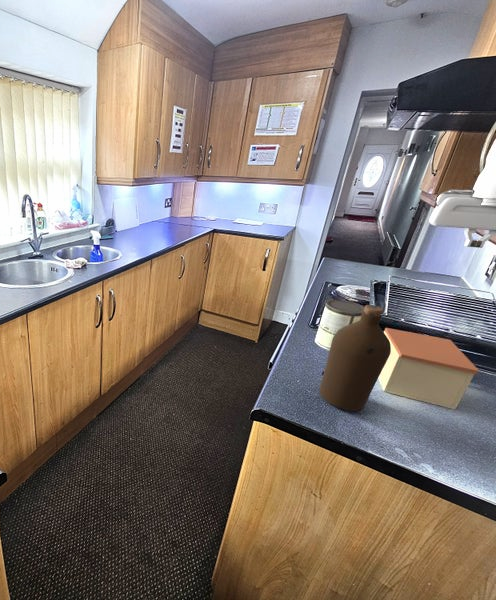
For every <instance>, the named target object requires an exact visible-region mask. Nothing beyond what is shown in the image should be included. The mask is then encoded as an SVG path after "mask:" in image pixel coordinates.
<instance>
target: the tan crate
mask: <svg viewBox="0 0 496 600" xmlns="http://www.w3.org/2000/svg"><path fill="white" fill-rule="evenodd" d="M383 332H384V334H385V335H386V336H387V338H388V339H389V337H388V335H387V333H386V332H385V330H384V331H383ZM389 341H390V345H391V352H390V356H389V358H388V360H387V362H386V364H385V366H384V368H383V369H382V371H381V373H380V375H379V377H378V379H377V380H378V381H379V383H380V386H381V388H382V390H383V392H385V393H389V394H393V395H397V396H400V397H404V398H408V399H412V400H416V401H420V402H424V403H428V404H432V405H435V406H439V407H443V408H447V409H451V410H456V409H457V407H458V405H459V404H460V401H461V400H462V398H463V396H464V394H465V392H466V390H467V389H468V387H469V385H470V384H471V381H472V380H473V378H474V376H475V375H476V374H475V373H471V372H466V371H461V370H457V369H452V368H448V367H443V366H438V365H434V364H429V363H424V362H420V361H415V360H411V359H406V358H401V357H400V356H399V354H398V352H397V351H396V349H395V347H394V345H393V344H392V342H391V340H390V339H389Z"/></svg>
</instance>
